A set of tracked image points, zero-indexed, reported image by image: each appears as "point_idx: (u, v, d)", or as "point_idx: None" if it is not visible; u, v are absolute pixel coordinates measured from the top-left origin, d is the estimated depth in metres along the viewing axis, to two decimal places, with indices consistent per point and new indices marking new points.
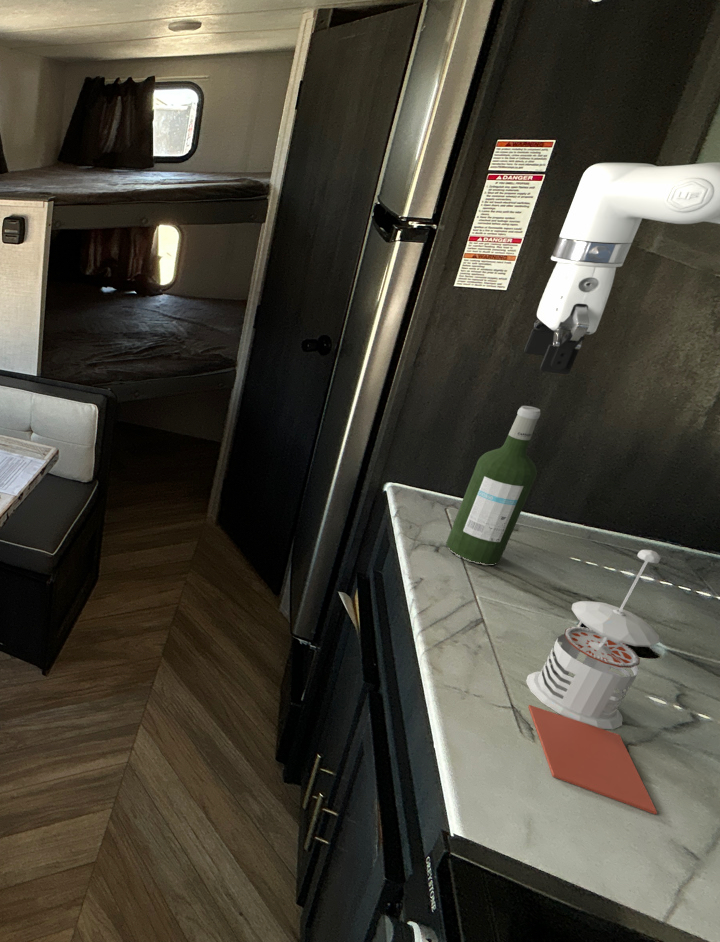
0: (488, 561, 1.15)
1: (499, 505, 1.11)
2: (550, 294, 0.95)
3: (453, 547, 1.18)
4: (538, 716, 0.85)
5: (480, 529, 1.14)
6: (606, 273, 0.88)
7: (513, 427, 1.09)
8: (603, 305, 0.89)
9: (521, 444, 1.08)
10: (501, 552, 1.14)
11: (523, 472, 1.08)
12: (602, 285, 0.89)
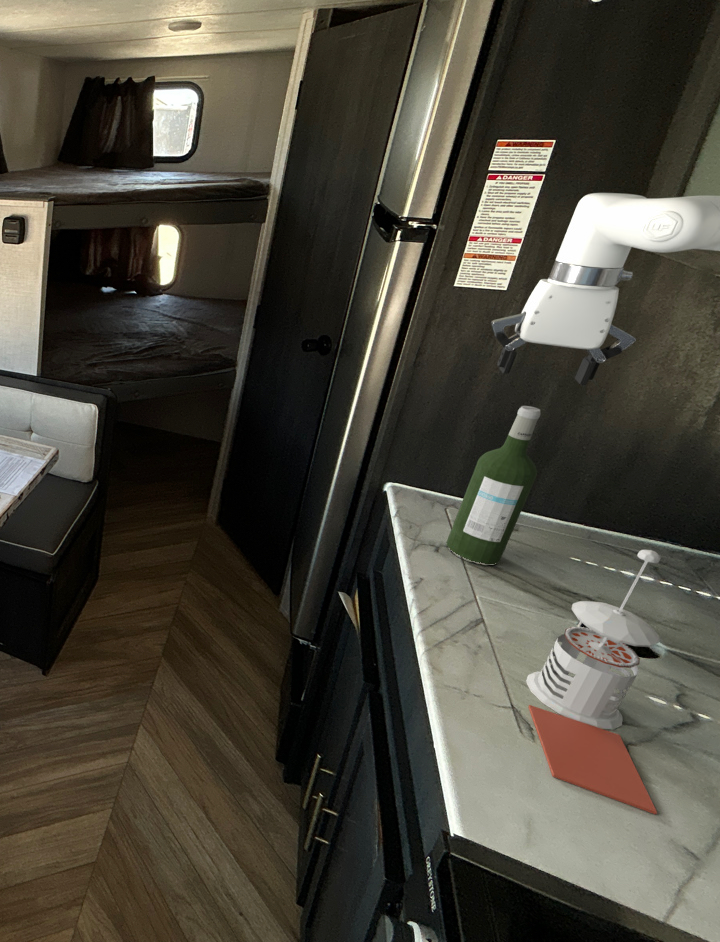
0: (488, 561, 1.15)
1: (499, 505, 1.11)
2: (574, 319, 0.99)
3: (453, 547, 1.18)
4: (538, 716, 0.85)
5: (480, 529, 1.14)
6: None
7: (513, 427, 1.09)
8: None
9: (521, 444, 1.08)
10: (501, 552, 1.14)
11: (523, 472, 1.08)
12: None
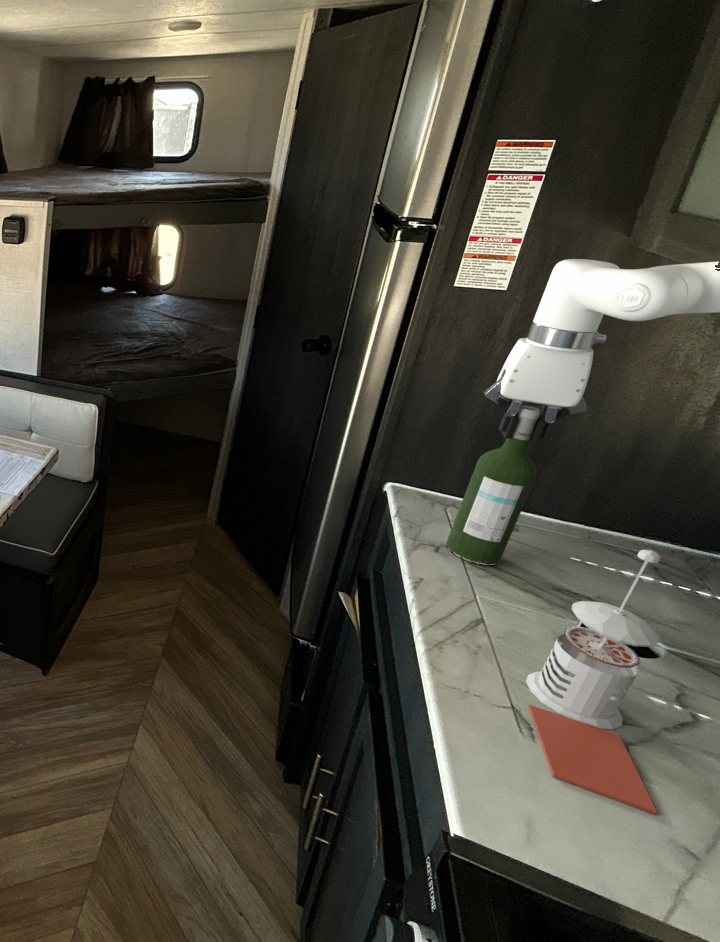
0: (488, 561, 1.15)
1: (499, 505, 1.11)
2: (551, 378, 1.03)
3: (453, 547, 1.18)
4: (538, 716, 0.85)
5: (480, 529, 1.14)
6: None
7: None
8: None
9: (521, 444, 1.08)
10: (501, 552, 1.14)
11: (523, 472, 1.08)
12: None
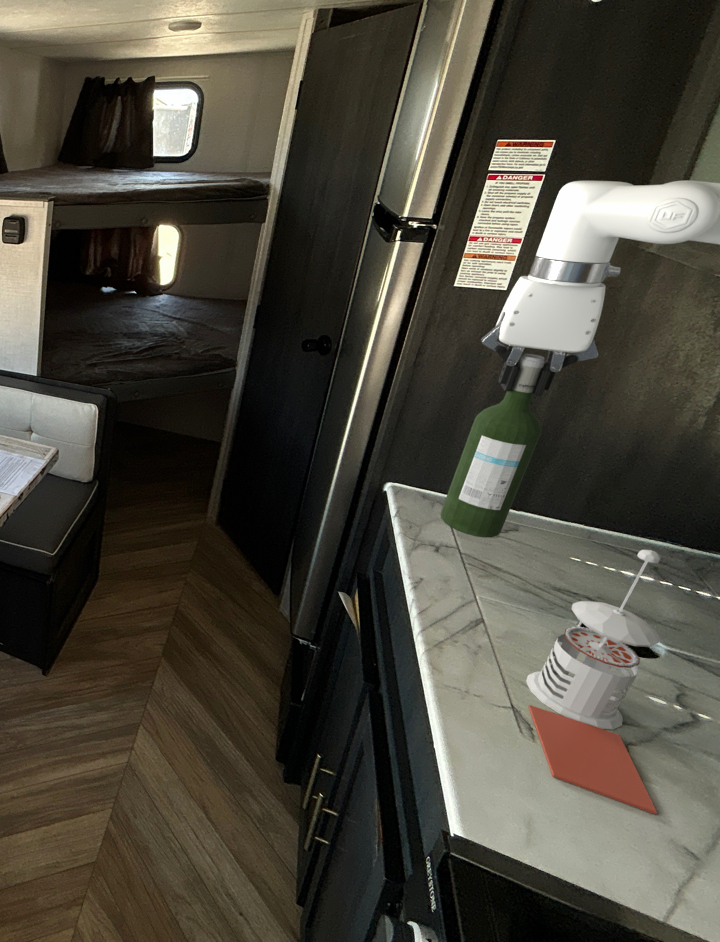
0: (487, 532, 1.02)
1: (498, 468, 0.98)
2: (557, 319, 0.90)
3: (448, 517, 1.05)
4: (538, 716, 0.85)
5: (477, 496, 1.01)
6: None
7: None
8: None
9: (523, 397, 0.96)
10: (502, 522, 1.01)
11: (525, 428, 0.95)
12: None
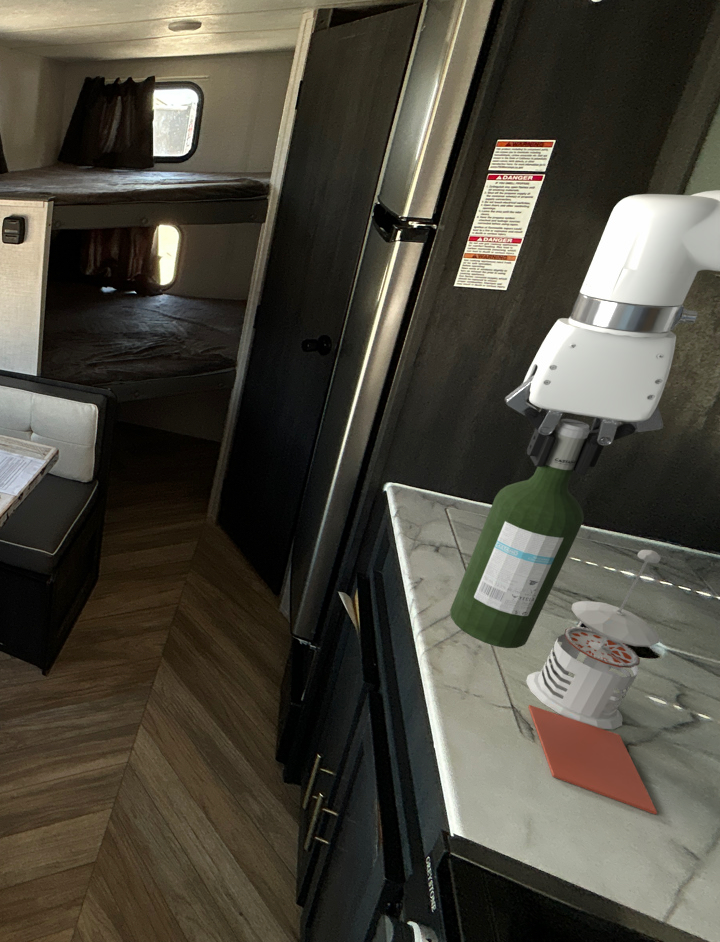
0: (510, 642, 0.79)
1: (527, 565, 0.76)
2: (608, 378, 0.68)
3: (460, 619, 0.83)
4: (538, 716, 0.85)
5: (498, 597, 0.78)
6: None
7: None
8: None
9: (560, 476, 0.73)
10: (529, 630, 0.79)
11: (563, 517, 0.73)
12: None
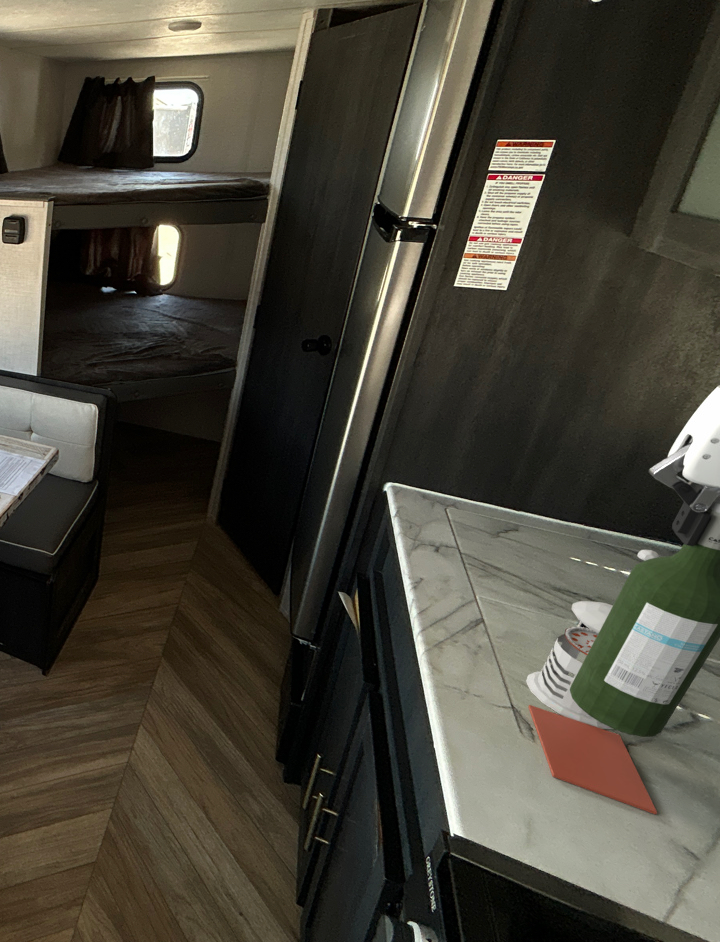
0: (647, 731, 0.73)
1: (673, 651, 0.69)
2: None
3: (585, 702, 0.76)
4: (538, 716, 0.85)
5: (635, 683, 0.72)
6: None
7: None
8: None
9: (714, 556, 0.67)
10: (668, 718, 0.72)
11: (719, 602, 0.66)
12: None
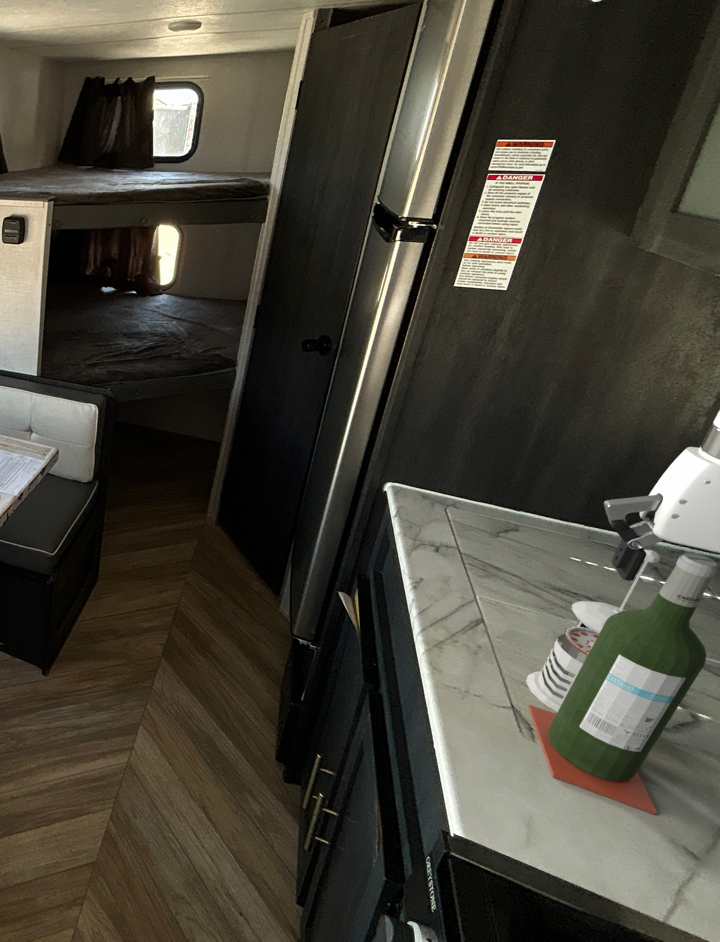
0: (620, 776, 0.76)
1: (644, 702, 0.72)
2: None
3: (561, 746, 0.79)
4: (538, 716, 0.85)
5: (609, 731, 0.75)
6: None
7: (669, 585, 0.70)
8: None
9: (683, 613, 0.69)
10: (640, 764, 0.75)
11: (687, 657, 0.69)
12: None
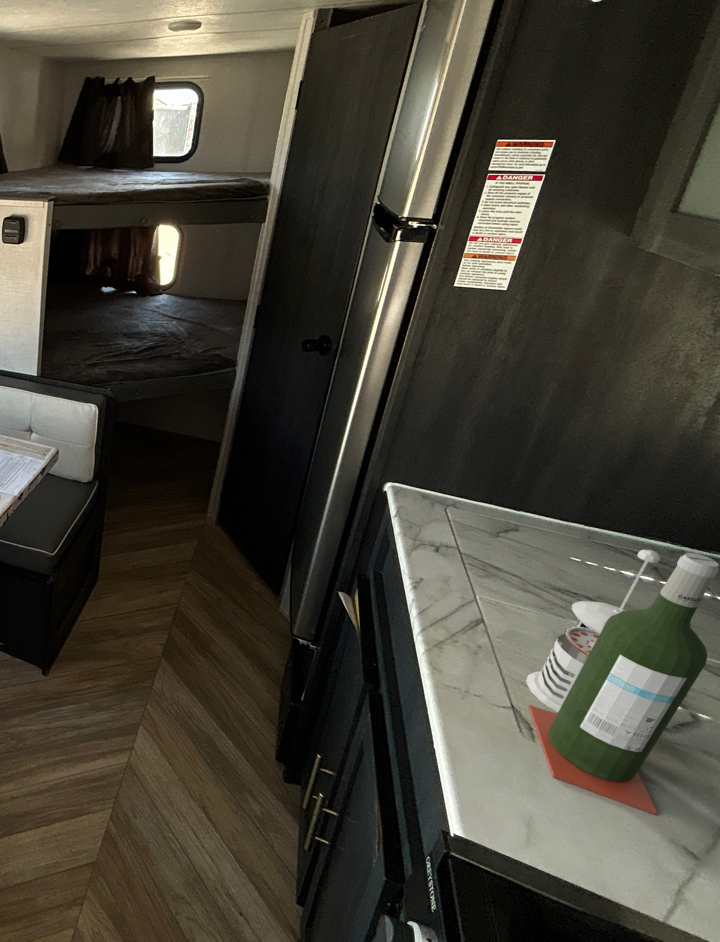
0: (620, 776, 0.76)
1: (644, 702, 0.72)
2: None
3: (562, 746, 0.79)
4: (538, 716, 0.85)
5: (609, 731, 0.75)
6: None
7: (670, 585, 0.70)
8: None
9: (684, 613, 0.69)
10: (641, 764, 0.75)
11: (688, 657, 0.69)
12: None
